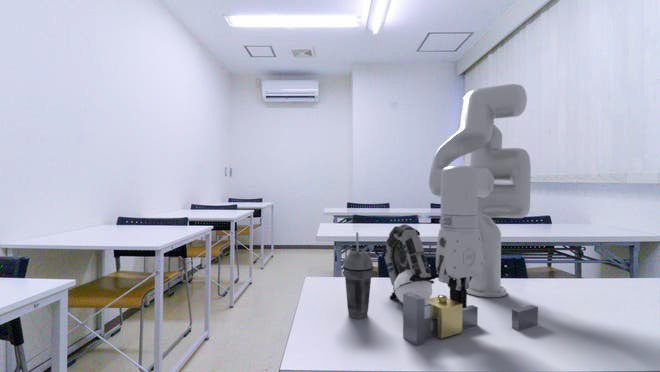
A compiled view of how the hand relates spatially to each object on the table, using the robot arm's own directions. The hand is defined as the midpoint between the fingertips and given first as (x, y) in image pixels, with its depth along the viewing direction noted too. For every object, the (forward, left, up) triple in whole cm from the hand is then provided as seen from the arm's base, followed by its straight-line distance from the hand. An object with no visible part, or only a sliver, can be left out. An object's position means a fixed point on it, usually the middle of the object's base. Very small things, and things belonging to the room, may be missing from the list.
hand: (458, 306), depth 73 cm
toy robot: (-19, +1, -5) cm, 20 cm away
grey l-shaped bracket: (0, -4, -5) cm, 6 cm away
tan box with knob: (0, -5, -4) cm, 6 cm away
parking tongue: (+6, +14, -5) cm, 16 cm away
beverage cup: (-16, -16, -5) cm, 23 cm away
